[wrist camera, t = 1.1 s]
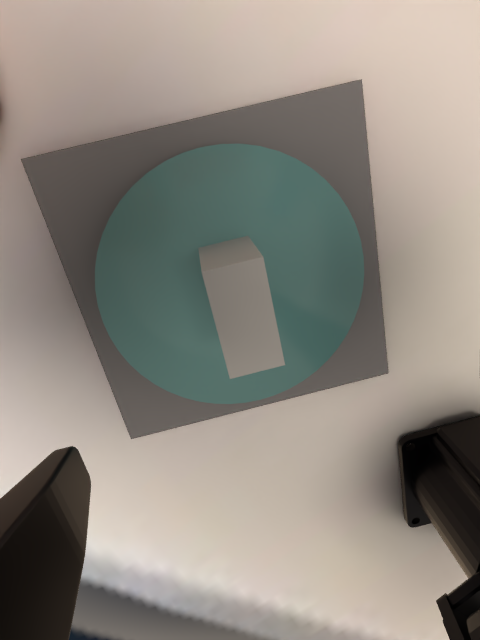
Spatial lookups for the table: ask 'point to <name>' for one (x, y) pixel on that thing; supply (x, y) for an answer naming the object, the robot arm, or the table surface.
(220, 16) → the table surface
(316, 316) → the lid
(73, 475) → the robot arm
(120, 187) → the mat
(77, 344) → the table surface
